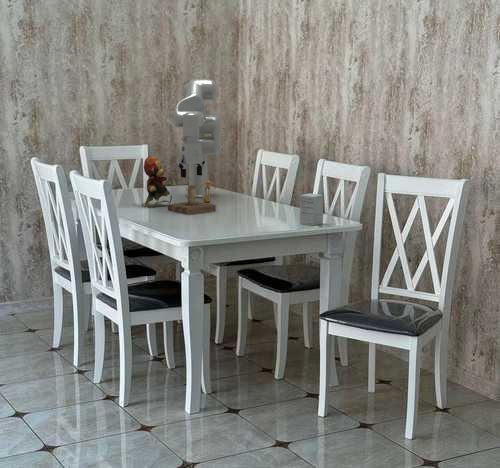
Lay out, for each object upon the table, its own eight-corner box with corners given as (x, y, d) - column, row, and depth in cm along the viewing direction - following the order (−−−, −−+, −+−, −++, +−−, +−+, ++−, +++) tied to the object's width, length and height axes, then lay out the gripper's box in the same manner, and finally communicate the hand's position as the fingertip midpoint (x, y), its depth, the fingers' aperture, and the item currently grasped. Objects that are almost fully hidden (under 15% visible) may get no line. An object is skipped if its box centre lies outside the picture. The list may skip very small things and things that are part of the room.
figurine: (213, 201, 416) (213, 178, 414) (217, 203, 410) (217, 179, 408) (197, 202, 413) (197, 178, 411) (200, 204, 408) (200, 180, 405)
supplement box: (309, 221, 360) (309, 193, 357) (323, 223, 355) (323, 194, 353) (299, 223, 354) (299, 194, 352) (313, 225, 350) (313, 196, 347)
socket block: (167, 210, 387) (167, 204, 386) (193, 207, 398) (193, 201, 397) (189, 214, 376) (189, 208, 375) (215, 211, 387) (215, 204, 386)
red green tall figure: (151, 206, 389) (142, 154, 389) (137, 210, 403) (129, 160, 403) (179, 202, 396) (171, 151, 396) (165, 206, 411) (157, 157, 411)
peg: (186, 210, 387) (186, 185, 385) (192, 210, 389) (192, 184, 387) (191, 211, 384) (191, 186, 382) (197, 210, 387) (197, 185, 385)
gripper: (181, 141, 372) (182, 179, 376) (210, 139, 384) (210, 175, 388) (171, 140, 377) (171, 177, 381) (200, 137, 389) (200, 173, 393)
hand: (191, 176), depth 384 cm, fingers open, 9 cm apart
